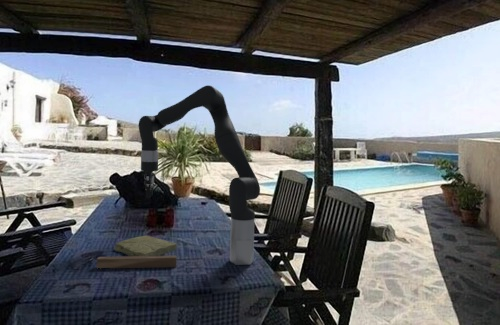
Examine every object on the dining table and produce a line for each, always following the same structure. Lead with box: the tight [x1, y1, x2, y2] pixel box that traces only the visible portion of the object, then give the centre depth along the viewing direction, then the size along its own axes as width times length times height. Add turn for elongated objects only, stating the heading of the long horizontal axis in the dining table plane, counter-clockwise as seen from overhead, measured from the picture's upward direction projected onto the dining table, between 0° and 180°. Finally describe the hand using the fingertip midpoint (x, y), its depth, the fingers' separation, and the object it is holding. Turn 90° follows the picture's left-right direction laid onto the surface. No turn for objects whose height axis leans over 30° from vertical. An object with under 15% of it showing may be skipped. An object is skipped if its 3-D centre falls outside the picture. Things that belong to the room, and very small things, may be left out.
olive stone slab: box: [113, 235, 178, 256], centre depth 156 cm, size 19×20×4 cm
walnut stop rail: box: [96, 255, 178, 270], centre depth 137 cm, size 2×28×4 cm, turn 99°
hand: (149, 196), depth 170 cm, fingers open, 6 cm apart
